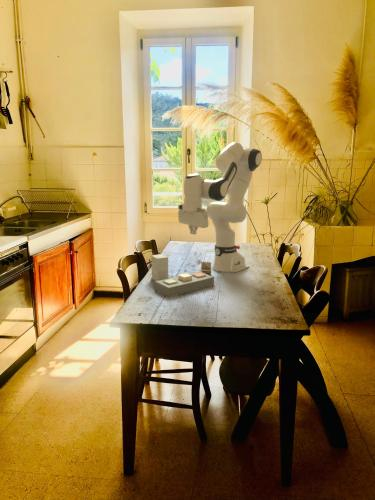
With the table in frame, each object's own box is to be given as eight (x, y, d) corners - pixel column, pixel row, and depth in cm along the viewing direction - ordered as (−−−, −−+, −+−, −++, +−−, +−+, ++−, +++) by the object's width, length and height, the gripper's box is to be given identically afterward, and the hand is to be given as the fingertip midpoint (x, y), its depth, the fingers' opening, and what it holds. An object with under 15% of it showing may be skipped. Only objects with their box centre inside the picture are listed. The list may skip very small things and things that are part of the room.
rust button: (199, 280, 206) (199, 272, 205) (205, 282, 202) (205, 275, 201) (192, 281, 203) (192, 274, 202) (198, 284, 199) (198, 276, 198)
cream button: (186, 280, 200) (186, 273, 199) (191, 283, 196) (191, 275, 195) (178, 282, 197) (178, 275, 196) (184, 285, 193) (184, 277, 192)
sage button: (171, 286, 195) (171, 279, 194) (177, 289, 191) (177, 281, 190) (163, 288, 192) (163, 280, 191) (169, 291, 188) (169, 283, 188)
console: (199, 279, 210) (199, 271, 209) (213, 285, 201) (214, 277, 200) (155, 290, 194) (155, 281, 193) (168, 296, 184) (168, 287, 183)
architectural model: (210, 276, 217) (210, 263, 215) (197, 275, 218) (198, 263, 217) (211, 275, 220) (211, 262, 218) (199, 274, 222) (199, 261, 220)
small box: (168, 280, 208) (168, 257, 205) (157, 282, 205) (157, 258, 202) (162, 276, 215) (161, 253, 212) (151, 278, 212) (150, 255, 209)
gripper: (211, 208, 190) (211, 236, 193) (185, 204, 205) (186, 230, 209) (201, 210, 186) (201, 238, 190) (176, 205, 202) (176, 231, 205)
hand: (193, 234), depth 199 cm, fingers closed
